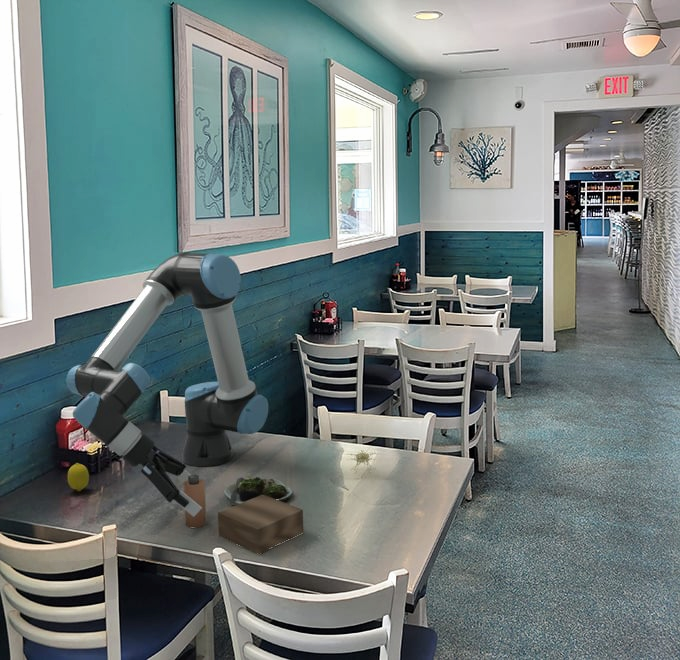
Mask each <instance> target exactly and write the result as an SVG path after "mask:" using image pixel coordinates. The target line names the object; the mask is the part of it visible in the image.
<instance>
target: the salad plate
mask: <svg viewBox="0 0 680 660" xmlns="http://www.w3.org/2000/svg"><path fill="white" fill-rule="evenodd" d="M224 494H225V496H226V497H227V498H228V499H229V500H228V504H229V505H230V506H235V505H238V504H240V503H243V502H245V501H248V500H250V499H253V498H255V497H258V496H260V495H265V496H268V497H271V498H273V499H279V501H281V502H284V503H286V502H288V501H289V500H290V499H291V498H292V497H293V494H294V493H293V490H292V489H291V488H290V487H288V485H286V484H285V483H283V482H282V481H281V480H279V479H276V478H271V477H270V478H268V477H267V478H265V477H264V478H261V477H259V476H255V477H251V478H249V476H246V477H245V478H244V477H241V476H240V477H238V478H237V479H236V483H234V484H231V485H229V486H227V487H226V488H225V489H224ZM287 500H288V501H287ZM285 501H286V502H285Z"/></svg>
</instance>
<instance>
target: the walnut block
mask: <svg viewBox="0 0 680 660" xmlns="http://www.w3.org/2000/svg"><path fill="white" fill-rule="evenodd" d="M217 526H218V527H217V528H218V537H219V538H221V537H222V538H221V539H223V538H224V539H223V540H225V539H226V541H227V540H228V542H230V541H231V542H230V543H232V542H233V543H232V544H234V543H235V545H236V544H238V545H240V546H239V547H241V546H242V547H241V548H243V547H244V548H243V549H245V548H246V549H245V550H247V549H248V551H249V550H251V551H250V552H252V551H253V552H252V553H254V552H255V553H254V554H256V553H258V554H260V553H262V552H264V551H266V550H268V549H269V548H271V547H274V546H275V545H277V544H279V543H282V542H284V541H286V540H288V539H291V538H293V537H295V536H297V535H299V534H301V533H303V534H304V510H303V509H302V508H301V507H298V506H294V505H292V504H288V503H287V502H281V501H279V500H276V499H273V498H271V497H268V496H265V495H260V496H258V497H255V498H253V499H250V500H248V501H245V502H243V503H240V504H238V505H232V506H230V507H228V508H226V509H223V510H221V511H218V512H217ZM299 536H300V535H299ZM297 537H298V536H297ZM295 538H296V537H295ZM293 539H294V538H293ZM291 540H292V539H291ZM238 545H237V546H238ZM274 548H275V547H274ZM268 551H269V550H268ZM266 552H267V551H266ZM264 553H265V552H264ZM258 554H257V555H258ZM262 554H263V553H262ZM260 555H261V554H260Z"/></svg>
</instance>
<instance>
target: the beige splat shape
mask: <svg viewBox="0 0 680 660" xmlns="http://www.w3.org/2000/svg"><path fill="white" fill-rule="evenodd" d="M367 448H368V449H366V452H365V450H364V449H363V450H362V449H360V451H361V452H359V451H356V453H351V452H350V453H349V452H348V453H347V455H350V456H354V458H352V457H351V458H350V459H349V458H348V459H346V461H347V460H348V461H349V460H353V461H355V462H356V465H355V466H354V467H352V468H351V469H350V471H352V470H353V471H356V472H354V473H355V474H356V473H357V472H358V470H359V466H360V465H361V464H364V466H368V467H369V468H372V469H374V470H376V468H374V467H373V466H371V465H370V462H369V461H371V460H374V458H373V455H374V454H375V455H377V454H378V455H379V453H376V452H371V451H370V452H368V451H369V449H370V448H372V445H369V446H368V447H367ZM371 456H372V457H371ZM367 470H368V473H370V474H371V472H370V469H367Z"/></svg>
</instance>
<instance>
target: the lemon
mask: <svg viewBox="0 0 680 660" xmlns="http://www.w3.org/2000/svg"><path fill="white" fill-rule="evenodd" d="M89 480H90V474H89V470H88V468H87V467H86V466H85V465H83V464H81V463H79V462H76V463H75V464H73V465H71V467H70V468H69V469H68V471H67V483H68V485H69V487H70V488H71V489H72V490H73V489H74V490H76V491H77V492H81V491H82V490H83V489H85V488H86V487H87V486H88V484H89V482H90V481H89Z"/></svg>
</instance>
